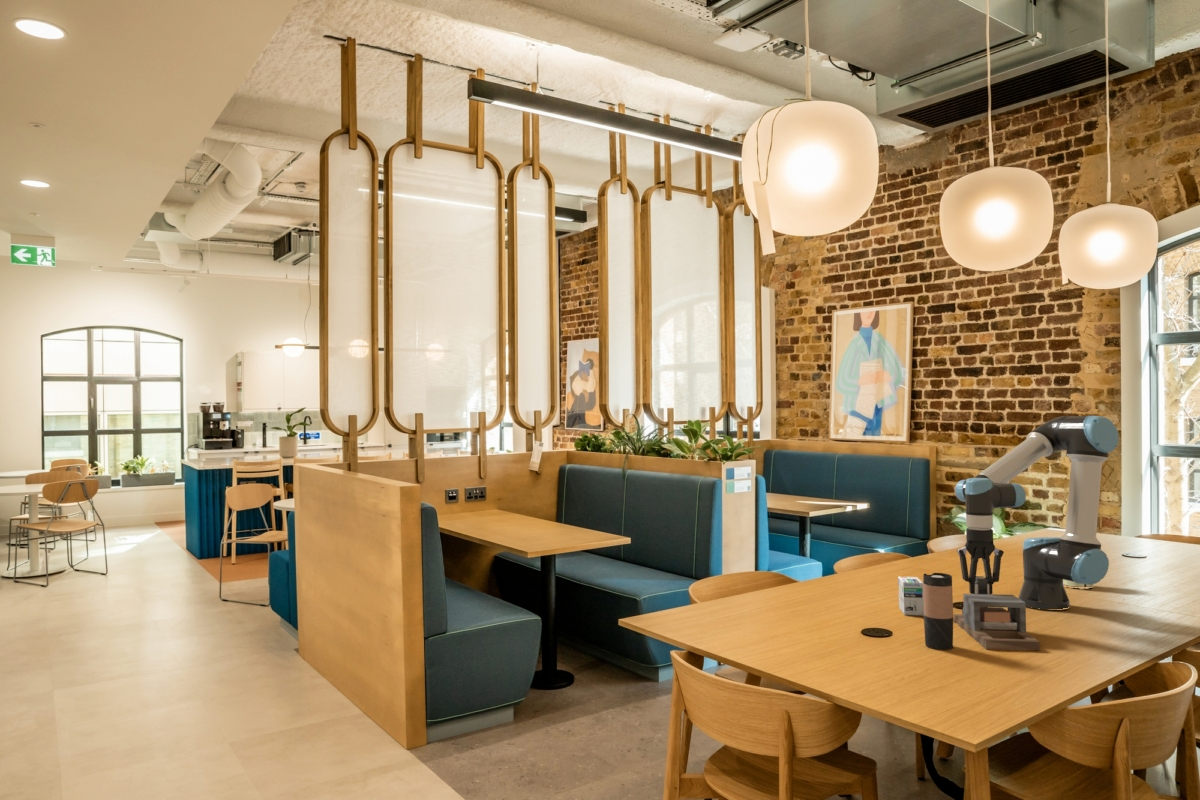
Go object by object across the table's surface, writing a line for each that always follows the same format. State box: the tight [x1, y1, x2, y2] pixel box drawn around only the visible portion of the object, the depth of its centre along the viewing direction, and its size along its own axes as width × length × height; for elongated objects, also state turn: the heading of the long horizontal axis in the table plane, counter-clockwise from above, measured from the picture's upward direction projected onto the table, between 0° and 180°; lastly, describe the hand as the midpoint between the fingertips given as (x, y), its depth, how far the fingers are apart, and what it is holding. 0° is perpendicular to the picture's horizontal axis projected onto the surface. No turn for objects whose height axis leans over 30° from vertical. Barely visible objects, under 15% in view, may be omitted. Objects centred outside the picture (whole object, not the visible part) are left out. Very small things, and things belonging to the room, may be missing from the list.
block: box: [980, 607, 1010, 630], centre depth 232 cm, size 7×6×5 cm
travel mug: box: [922, 572, 954, 651], centre depth 222 cm, size 8×8×20 cm
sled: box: [961, 575, 1017, 630], centre depth 237 cm, size 17×10×12 cm, turn 172°
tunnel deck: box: [953, 593, 1041, 651], centre depth 232 cm, size 30×14×11 cm, turn 172°
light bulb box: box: [897, 575, 924, 617], centre depth 261 cm, size 11×7×11 cm, turn 168°
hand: (981, 604), depth 243 cm, fingers closed on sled, 2 cm apart
